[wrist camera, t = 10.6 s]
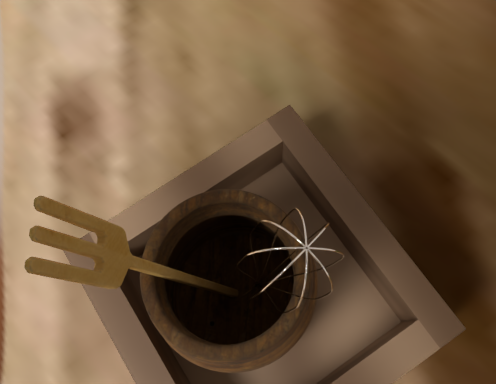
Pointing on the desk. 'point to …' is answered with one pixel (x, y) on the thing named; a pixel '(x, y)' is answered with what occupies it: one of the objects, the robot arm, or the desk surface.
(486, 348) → the desk surface
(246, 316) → the utensil holder
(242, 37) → the desk surface
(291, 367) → the socket block
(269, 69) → the desk surface
